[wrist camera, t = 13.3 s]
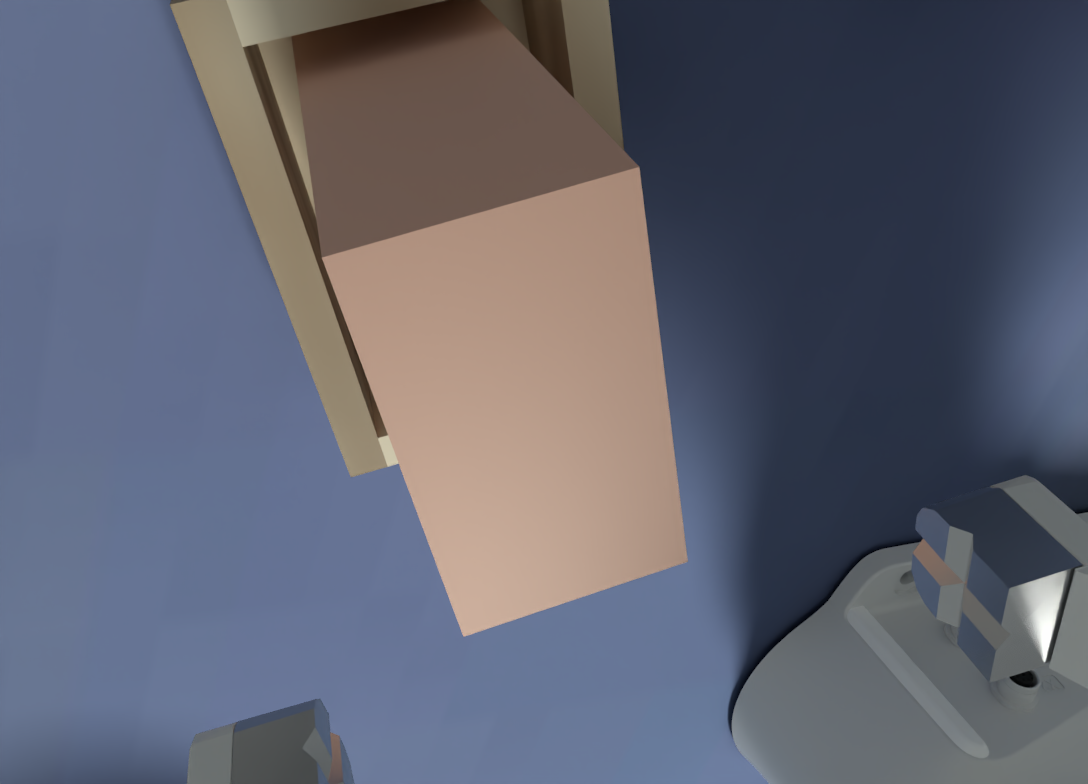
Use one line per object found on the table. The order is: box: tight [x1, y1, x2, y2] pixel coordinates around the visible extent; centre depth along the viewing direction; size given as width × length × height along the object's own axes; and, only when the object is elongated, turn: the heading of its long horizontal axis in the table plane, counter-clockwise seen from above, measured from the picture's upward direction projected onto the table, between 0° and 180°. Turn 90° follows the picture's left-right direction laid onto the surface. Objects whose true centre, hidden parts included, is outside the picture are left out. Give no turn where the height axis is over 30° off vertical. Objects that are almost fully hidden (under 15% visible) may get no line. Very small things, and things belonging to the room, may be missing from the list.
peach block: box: [291, 0, 688, 636], centre depth 19 cm, size 4×8×12 cm, turn 11°
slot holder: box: [170, 0, 624, 477], centre depth 23 cm, size 8×12×5 cm
